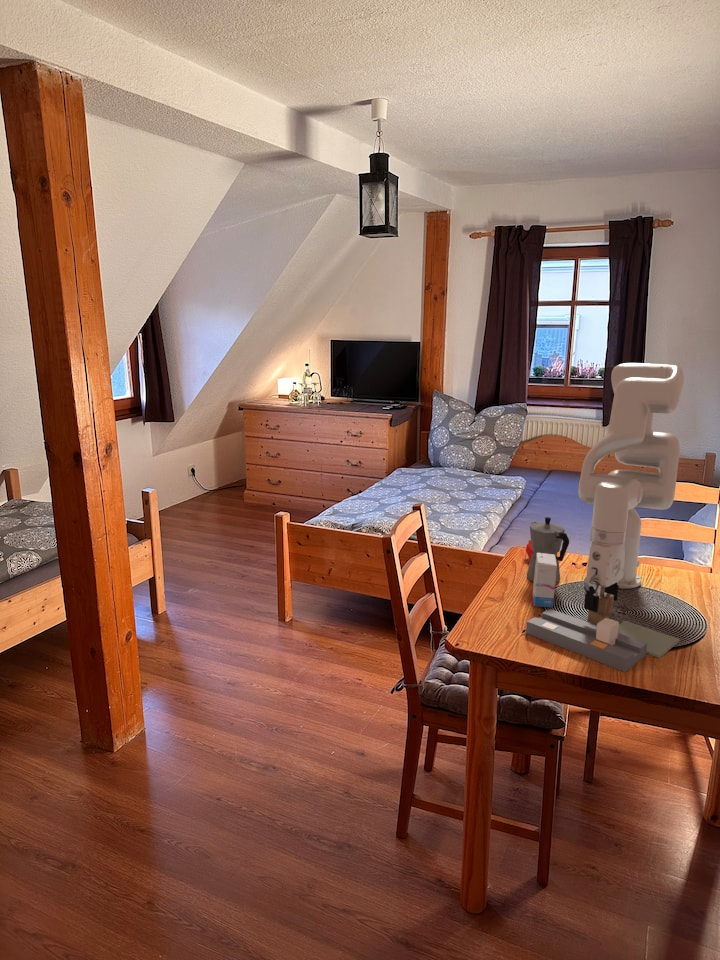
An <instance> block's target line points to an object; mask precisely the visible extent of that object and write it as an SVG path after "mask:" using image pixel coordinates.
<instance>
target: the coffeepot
mask: <svg viewBox="0 0 720 960" xmlns="http://www.w3.org/2000/svg"><path fill="white" fill-rule="evenodd" d="M551 520H552V518H551V517H548V516H545V517H544V522H541V521H537V522H536V521H533V522H530V524H531V525H529V532H530V541H531V547H532V549H533V555H532V556H531V560H530V559H529V565H528V567H527V571H526V577H527V579H528V580H529V581H531V582H533V583H534V574H535V564H536V553H546V554H554V555H555V558H556V563H557V572H556V582H555V584H557V583H559V582H560V581H561V574H560V563H559V562H562V561H564V557H565V555H566V553H567V549H568V547H569V544H570V538H569V537H568V535H567V532H566V533H565V528H564V527H563V526H562V525H559V524H555V523H552V522H551ZM558 554H559V556H558Z"/></svg>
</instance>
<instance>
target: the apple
mask: <svg viewBox="0 0 720 960" xmlns="http://www.w3.org/2000/svg"><path fill="white" fill-rule="evenodd" d="M525 552H526V554H527V556H528V558H529V561H530V560H531V556H532V555H533V549H532V547H531V539H529V540H528V542H527V544H526V548H525Z"/></svg>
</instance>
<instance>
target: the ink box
mask: <svg viewBox="0 0 720 960" xmlns="http://www.w3.org/2000/svg"><path fill="white" fill-rule="evenodd" d="M556 572H557V563H556V558H555V555H554V554H546V553H536V564H535V574H534V582H533V584H532V585H533V587H532V600H533V606H534V607H538V608H539V607H541V608H549V609H551V608H552V609H553V608H554V599H555V589H556V583H555V582H556Z"/></svg>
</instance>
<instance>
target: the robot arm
mask: <svg viewBox="0 0 720 960" xmlns="http://www.w3.org/2000/svg"><path fill="white" fill-rule="evenodd" d="M610 379H611V386H612V387H611V388H612V390H613V394H614V396H613V400H612V406H611V410H610V411H611V413H610V418H609V423H608V428H607V429H608V430H607V432H606V435H605V436H604V437H602V438H601V439H600V440H598V441H597V442H596V443H595V444H594V445H593V446H592V447H591V448H590V450H589V451H587V454H586V456H585V458H584V459H583V463H582V467H581V472H580V478H579V483H578V490H577V491H578V497H579V499H580V500H581V501H582V503H584V504H588V505H593V508H592V509H593V510H592V519H591V528H590V529H591V530H590V541H591V545H590V548H589V554H588V559H587V566H586V576H585V577H584V579H583V589H584V593H585V594H584V602H583V608H584V610H586V611H589V610H590V611H593V612H597V611H598V605H599V596H598V593H599V591H600V588H601V586H603V587H604V588H605V593H608V594H612V595H614V600H613V602H616V601H618V598H619V597H618V596H619V589H629V590H630V589H635V588H637V587H639V586H641V584H642V578H641V577H640V576H639V575H638V574H637V568H638V567H640V565H641V563H640V561H639V559H638V558H639V550H640V541H641V533H642V519H641V517H640V515H639V513H638V512H637V510H636V509H635V508H638V507H639V508H642V509H644V508H646V509H653V510H667V509H670V508H671V506H672V504H673V503H674V499H675V492H676V487H677V486H676V484H677V476H678V469H679V462H680V453H681V452H680V449H681V448H680V445H681V444H680V441H679V437H677V436H676V435H675V434H674V433H669V432H663V431H662V432H661V431H653V430H652V426H653V417H654V413H655V414H665V415H666V414H672V413H674V412H675V410H676V408H678V405H679V401H680V398H681V394H682V390H683V388H684V387H683V386H684V379H685V375H684V370H683V369H682V367H681V366H679V365H677V364H667V363H646V362H644V363H643V362H625V363H620V364H618V365H615V366H614V367H613V369H612V371H611V377H610ZM611 454H614V458H615V460H616V461H617V462H618V463H620V464H623V465H627V466H637V467H646V468H654V469H656V470H658V472H648V471H641V470H640V471H639V470H632V469H614V470H611V471H610V472H609V473H608V474H604V473H603V474H602V473H595V470H596V467H597V464H598V463H599V462H600V461H601V460H602V459H604V458H605V457H607V456H609V455H611ZM594 586H595V588H594Z"/></svg>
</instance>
